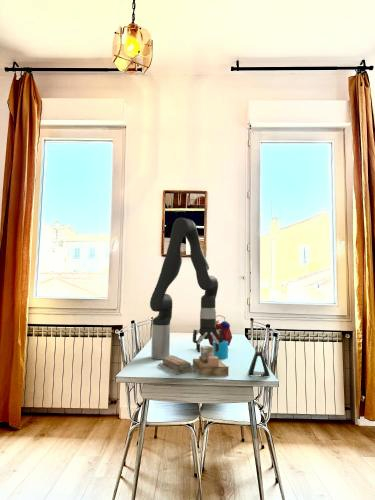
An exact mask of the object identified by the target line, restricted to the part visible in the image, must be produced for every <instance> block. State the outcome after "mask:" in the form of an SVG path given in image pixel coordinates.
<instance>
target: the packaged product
mask: <svg viewBox="0 0 375 500" xmlns="http://www.w3.org/2000/svg"><path fill="white" fill-rule="evenodd" d="M161 361H162V362H160V363H159V362H158V363H157V365H158V366H159V367H160V368H161V367H162V368H163V369H165V370H167V371H168V372H171V373H173V374H175V375H181V374H188V373H195V368H194V367H192V363H191V362H189V361H187V360H186V359H182V358H180V357H178V356H175V355H170V354H169V356H168V357H165V358H163V359H161Z"/></svg>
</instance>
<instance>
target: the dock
mask: <svg viewBox="0 0 375 500" xmlns="http://www.w3.org/2000/svg"><path fill="white" fill-rule="evenodd" d="M192 366H193V368H194V369H195V370H196V371H197V373H198V374H199V375H200V377H213V376H215V377H216V376H217V377H219V376H229V366H227V365H226V364H224V363H223V362H222V361H221V359H219V367H209V366H208V363H203V362H202V361H201V360H200V359H199V358H192Z"/></svg>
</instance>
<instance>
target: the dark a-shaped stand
mask: <svg viewBox="0 0 375 500" xmlns="http://www.w3.org/2000/svg"><path fill="white" fill-rule="evenodd" d="M254 349H255V351H254V355H253V356H252V357H253V358H252V361H251V363H250V367H249V369H248V376H249V375H261V376H260V377H264V376H269V377H270V376H271V375H270V371H269V368H268V367H267V363H266V361H265V358H264V355H263V351H264V350H263V347H262V346H261V345H259V346H258V345H256V346H255V348H254ZM258 349H260V351H258ZM258 357H260V360H261V365H262V367H263V371H255V368H256V364H257V361H258ZM269 377H268V378H269Z"/></svg>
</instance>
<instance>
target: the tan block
mask: <svg viewBox="0 0 375 500" xmlns="http://www.w3.org/2000/svg"><path fill="white" fill-rule="evenodd" d="M208 356H214V347H213V346H212V345H200V355H199V357H198V359H200V360H201V361H202V362H203V363H208Z"/></svg>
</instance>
